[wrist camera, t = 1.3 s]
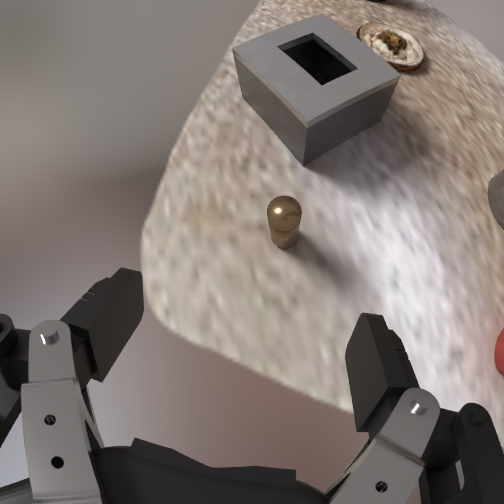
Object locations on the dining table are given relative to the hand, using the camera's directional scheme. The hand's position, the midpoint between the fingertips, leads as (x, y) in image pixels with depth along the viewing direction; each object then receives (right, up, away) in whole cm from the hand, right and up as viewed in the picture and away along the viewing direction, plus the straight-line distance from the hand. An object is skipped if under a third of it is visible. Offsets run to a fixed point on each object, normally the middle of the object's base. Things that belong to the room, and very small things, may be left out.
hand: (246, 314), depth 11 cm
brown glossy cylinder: (+4, +4, +24) cm, 25 cm away
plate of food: (+24, +37, +29) cm, 53 cm away
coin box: (+8, +22, +27) cm, 36 cm away
